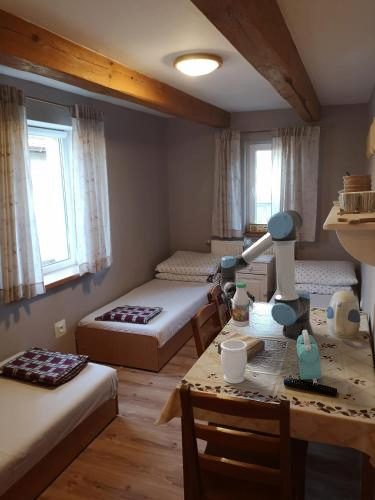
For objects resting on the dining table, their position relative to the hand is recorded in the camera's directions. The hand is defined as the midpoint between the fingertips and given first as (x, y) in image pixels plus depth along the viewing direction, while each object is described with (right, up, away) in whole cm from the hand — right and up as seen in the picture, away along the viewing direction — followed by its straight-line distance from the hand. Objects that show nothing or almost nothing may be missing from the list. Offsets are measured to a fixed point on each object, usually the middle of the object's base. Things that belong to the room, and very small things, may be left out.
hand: (243, 305), depth 177 cm
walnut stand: (0, -23, +9) cm, 25 cm away
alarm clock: (+24, -27, -17) cm, 40 cm away
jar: (-6, -28, -16) cm, 33 cm away
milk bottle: (0, -10, +7) cm, 12 cm away
